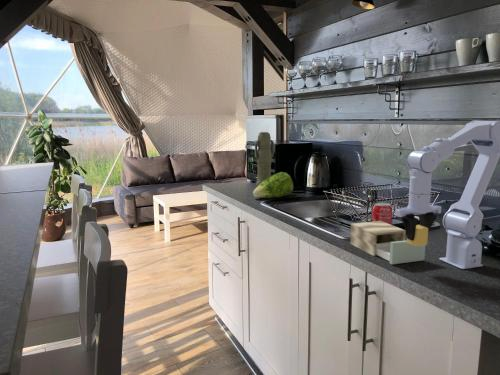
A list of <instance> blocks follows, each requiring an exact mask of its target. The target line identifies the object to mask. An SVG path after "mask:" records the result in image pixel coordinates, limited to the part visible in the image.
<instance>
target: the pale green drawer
mask: <svg viewBox="0 0 500 375" xmlns="http://www.w3.org/2000/svg"><path fill="white" fill-rule="evenodd" d="M376 256H378V257H380V258H382V259H384V260H386V261H388V262H389V264H390V265H398V264H399V265H400V264H404V263H405V264H406V263H412V262H413V263H414V262H421V261H425V258H426V257H425V256H426V245H423V246H414V245H411V244H409V243H407V239H405V240H404V241H396V242H394V241H392V242H383V243H381V242H376Z"/></svg>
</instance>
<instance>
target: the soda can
mask: <svg viewBox="0 0 500 375" xmlns="http://www.w3.org/2000/svg"><path fill="white" fill-rule="evenodd" d="M371 214H372V215H371V216H372V217H371V222H372V221H382V222H385V223H388V224H390V225H392V221H393V219H392V218H393V208H392V207H391V203H388V202H375V203H374V205H373V207H372V213H371Z"/></svg>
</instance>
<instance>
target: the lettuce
mask: <svg viewBox="0 0 500 375" xmlns="http://www.w3.org/2000/svg"><path fill="white" fill-rule="evenodd" d="M293 189H294V182H293V179H292V177H291V175H290V174H288V173H287V172H284V171H280V172H277V173H275V174H272V175H271V177H269V178H268V179H266V180H264V181H263V182H261V183H260V184H259V186H258V187H257V186H256V188H254V190H253V191H252V194H253V197H255V198H259V199H260V198H261V199H276V198H282V197H286V196H289V195H291V193H292V192H293Z"/></svg>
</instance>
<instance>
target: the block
mask: <svg viewBox="0 0 500 375" xmlns="http://www.w3.org/2000/svg"><path fill="white" fill-rule="evenodd" d="M428 237H429V233H428V228H427V227H424V226H421V225H420V224H417V225H416V229H415V237H414V240H413V241H411V240H409V239H407V238H406V240H407V243H409V244H411V245H414V246H423V245H425V246H428V239H429V238H428Z"/></svg>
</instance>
